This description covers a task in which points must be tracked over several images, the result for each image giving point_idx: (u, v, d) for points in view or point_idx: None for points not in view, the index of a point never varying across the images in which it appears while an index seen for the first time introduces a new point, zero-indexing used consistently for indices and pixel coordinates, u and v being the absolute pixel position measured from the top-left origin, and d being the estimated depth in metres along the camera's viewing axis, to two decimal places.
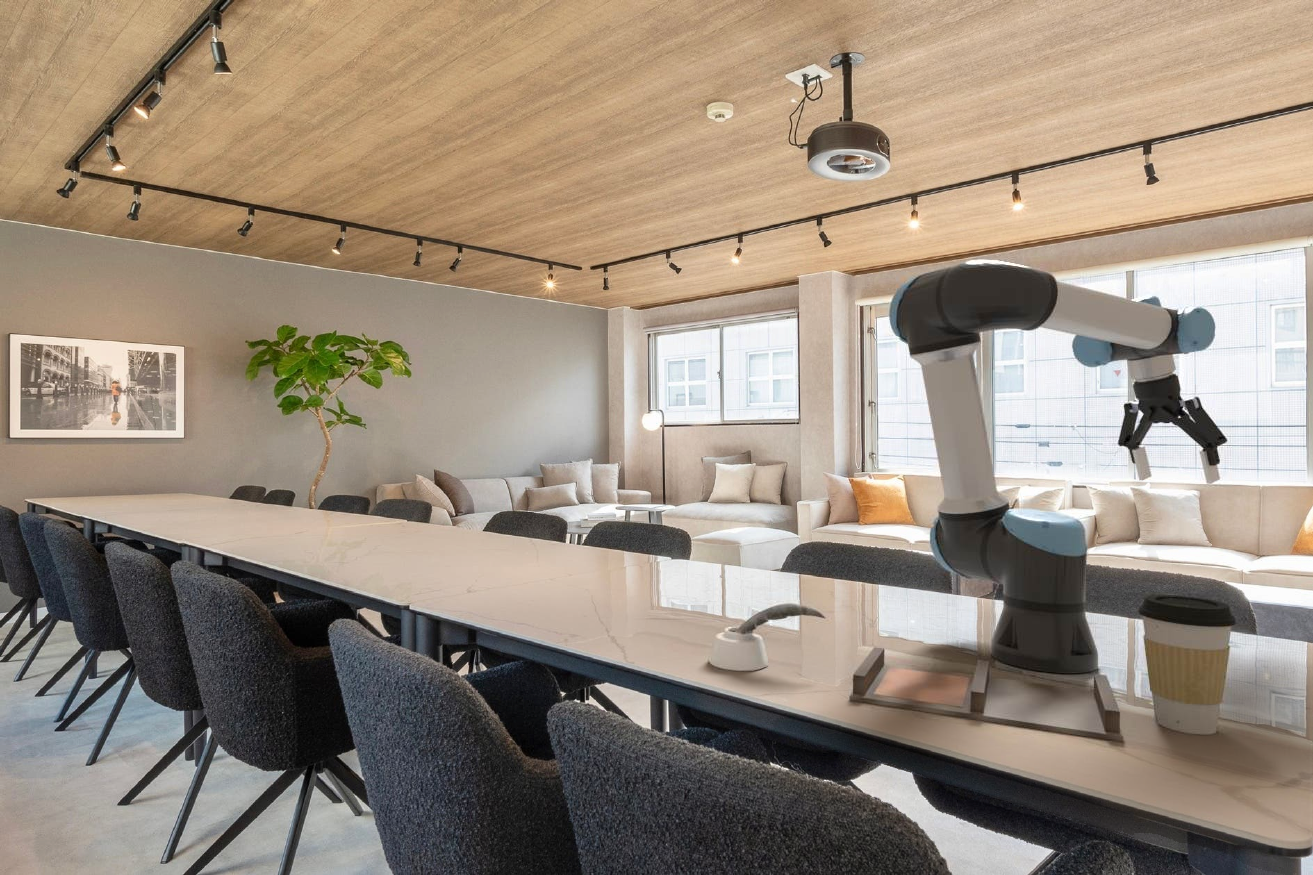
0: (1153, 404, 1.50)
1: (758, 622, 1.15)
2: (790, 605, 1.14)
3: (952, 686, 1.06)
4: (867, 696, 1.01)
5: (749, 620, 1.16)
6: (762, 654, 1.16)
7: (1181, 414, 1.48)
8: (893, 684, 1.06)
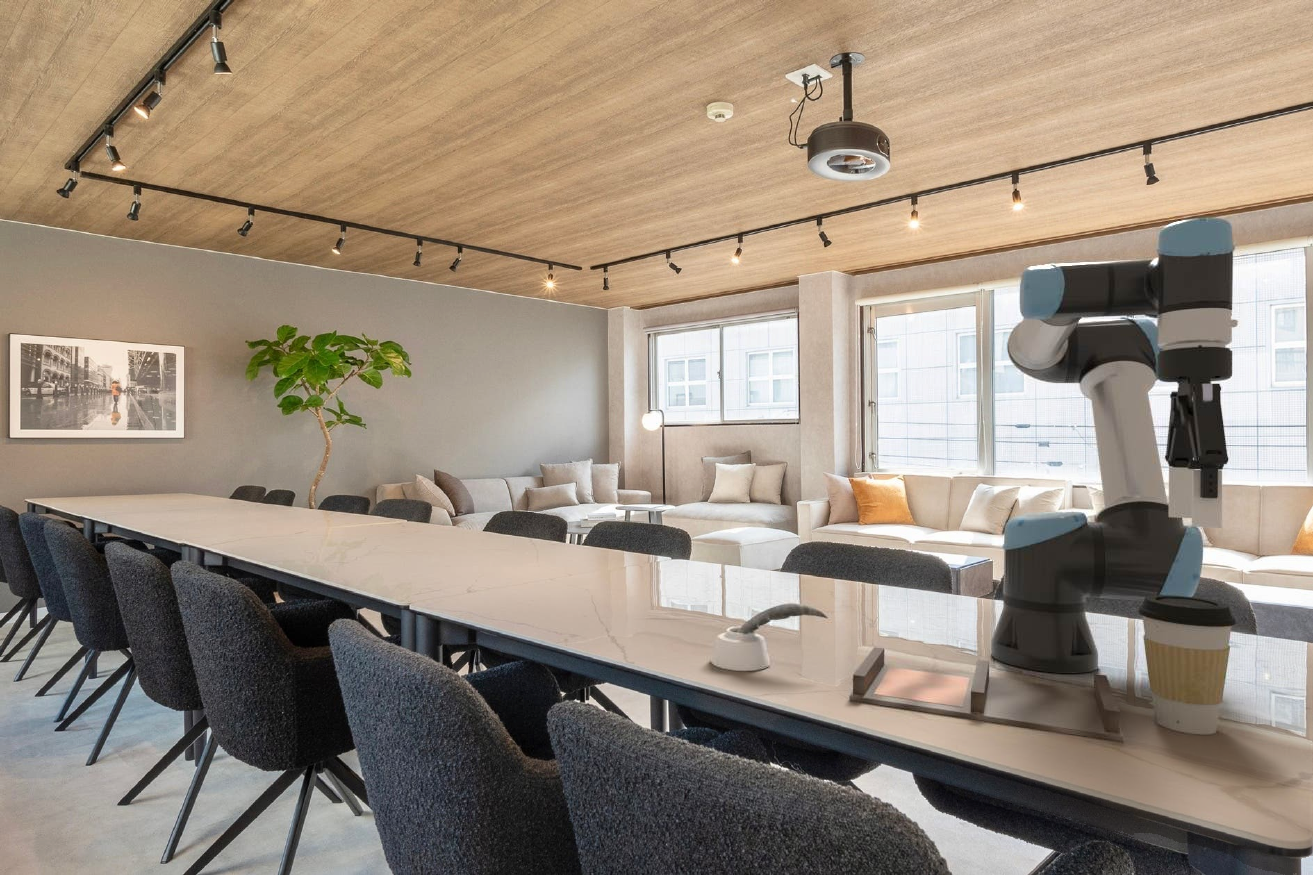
0: (1182, 392, 0.95)
1: (760, 622, 1.15)
2: (792, 605, 1.14)
3: (952, 686, 1.06)
4: (867, 696, 1.01)
5: (751, 620, 1.16)
6: (764, 654, 1.16)
7: None
8: (893, 684, 1.06)
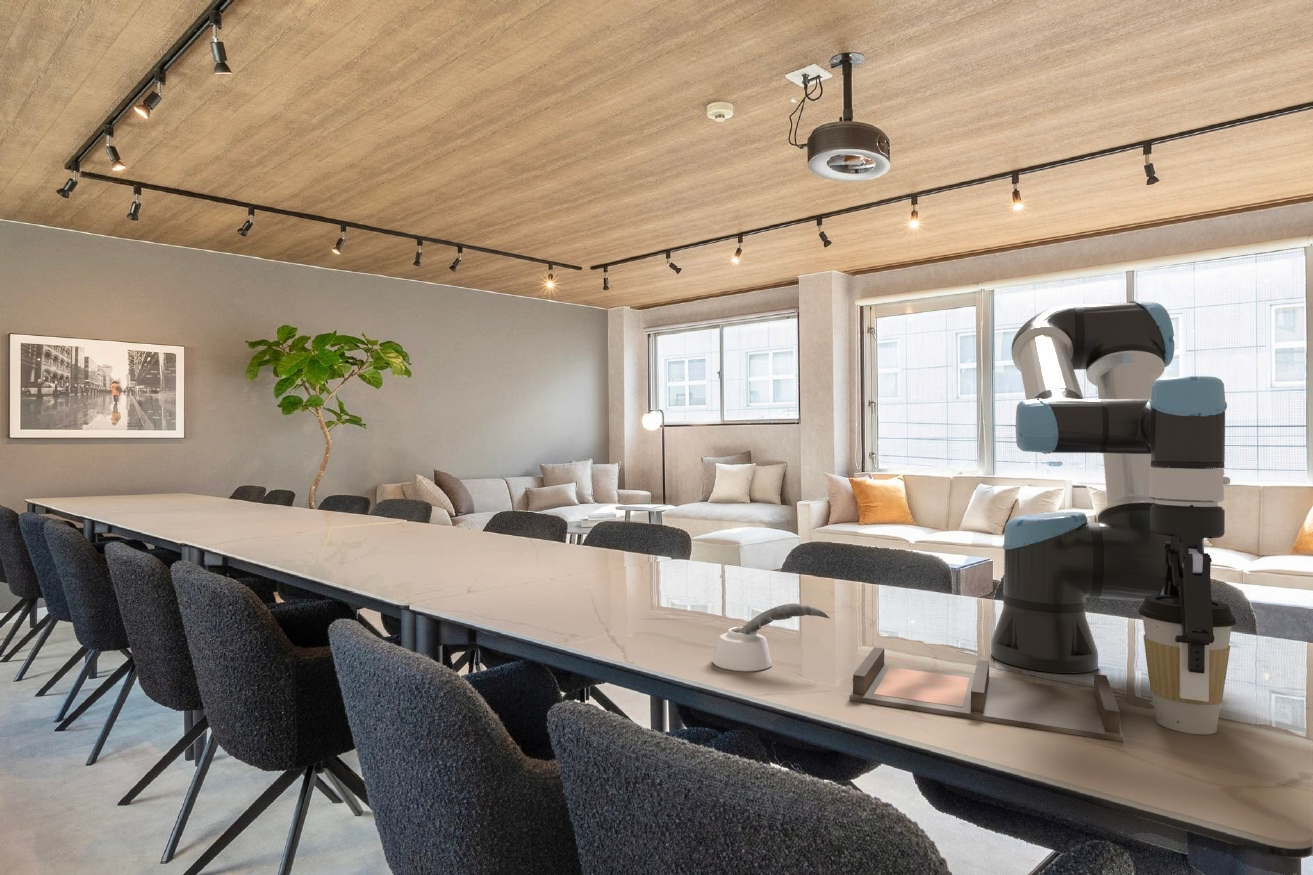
0: (1174, 541, 0.95)
1: (762, 622, 1.15)
2: (794, 605, 1.14)
3: (952, 686, 1.06)
4: (867, 696, 1.01)
5: (753, 620, 1.16)
6: (765, 654, 1.16)
7: None
8: (893, 684, 1.06)
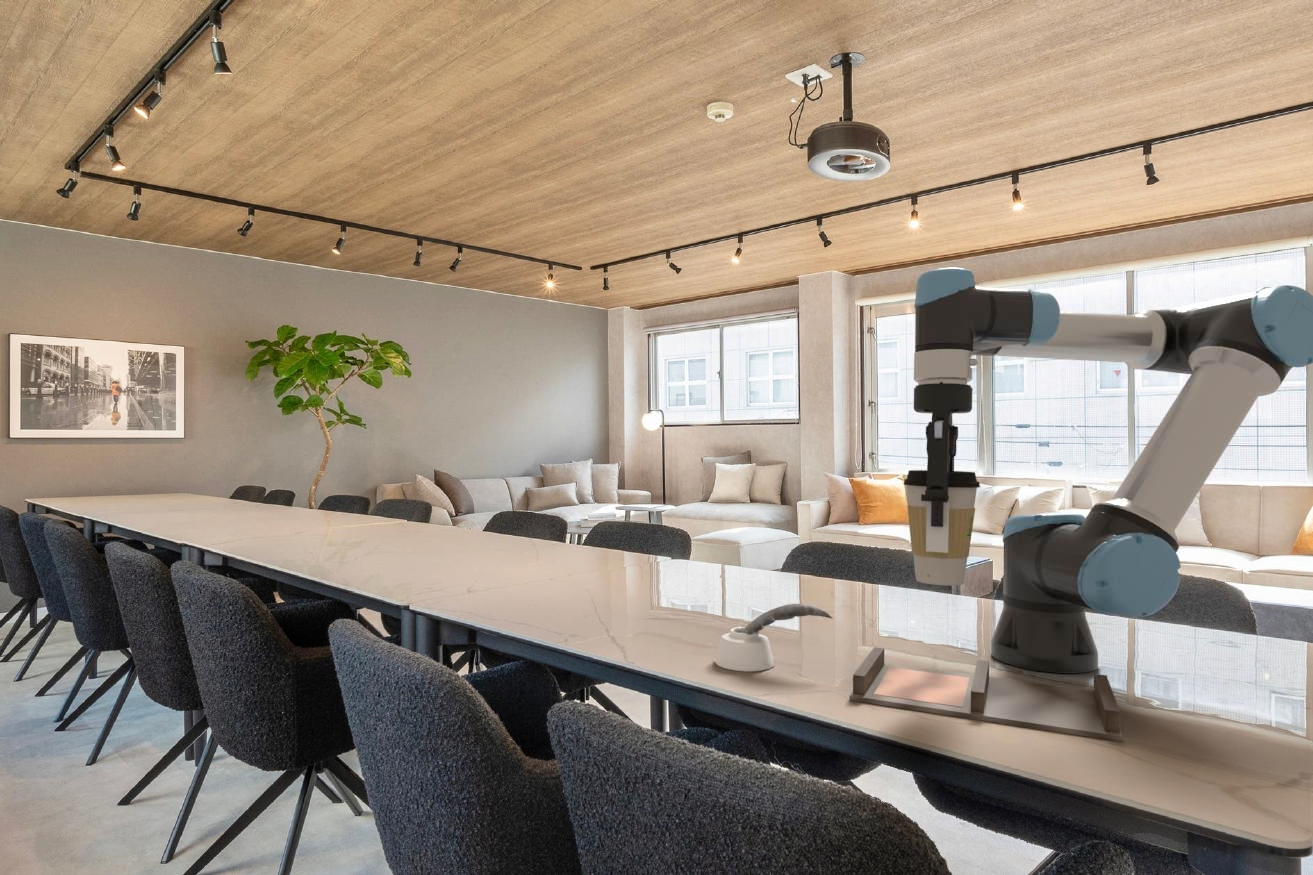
0: None
1: (764, 622, 1.15)
2: (797, 605, 1.14)
3: (952, 686, 1.06)
4: (867, 696, 1.01)
5: (755, 620, 1.16)
6: (768, 654, 1.16)
7: (950, 446, 1.03)
8: (893, 684, 1.06)
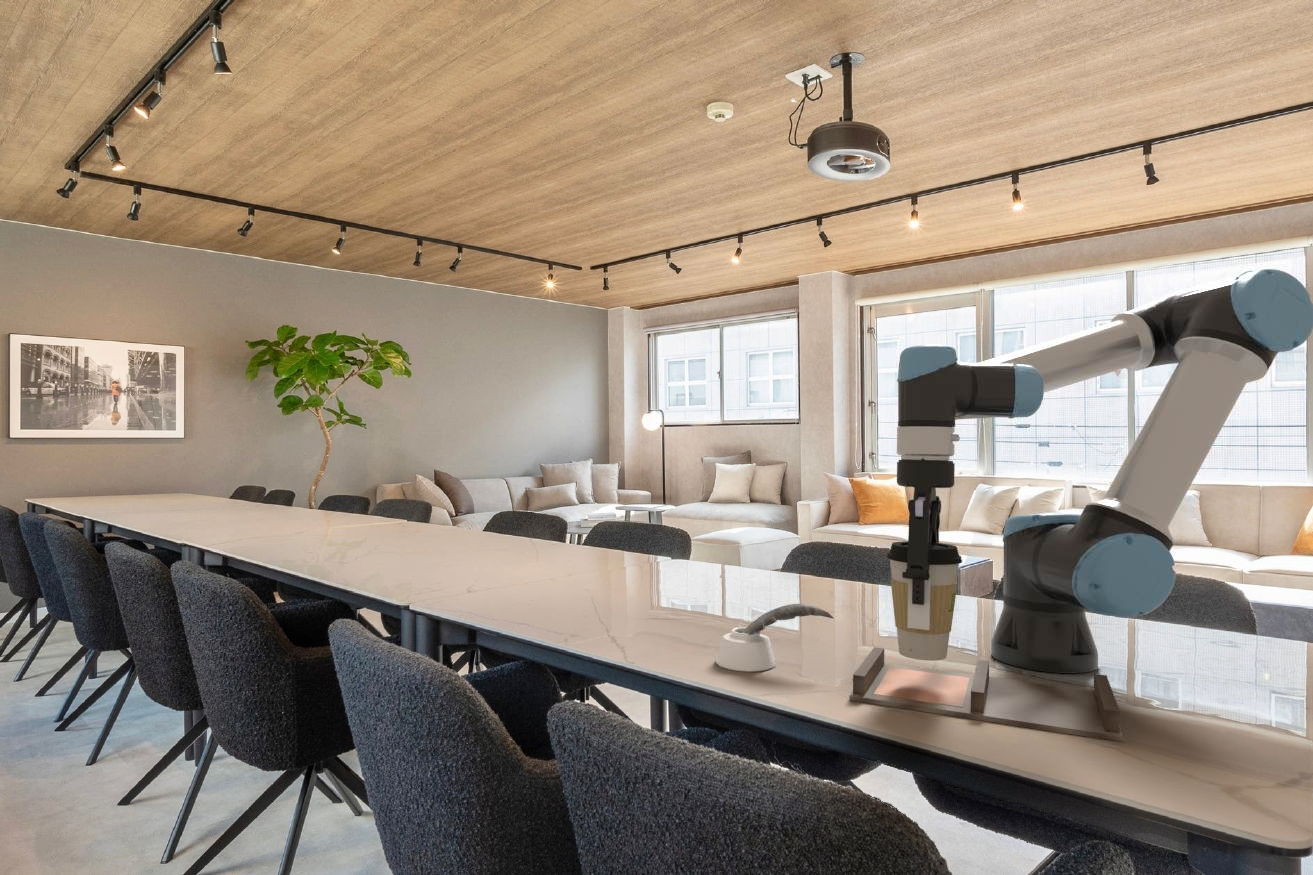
0: None
1: (766, 622, 1.14)
2: (798, 605, 1.14)
3: (952, 686, 1.06)
4: (867, 696, 1.01)
5: (757, 620, 1.16)
6: (769, 654, 1.16)
7: (932, 522, 1.04)
8: (893, 684, 1.06)
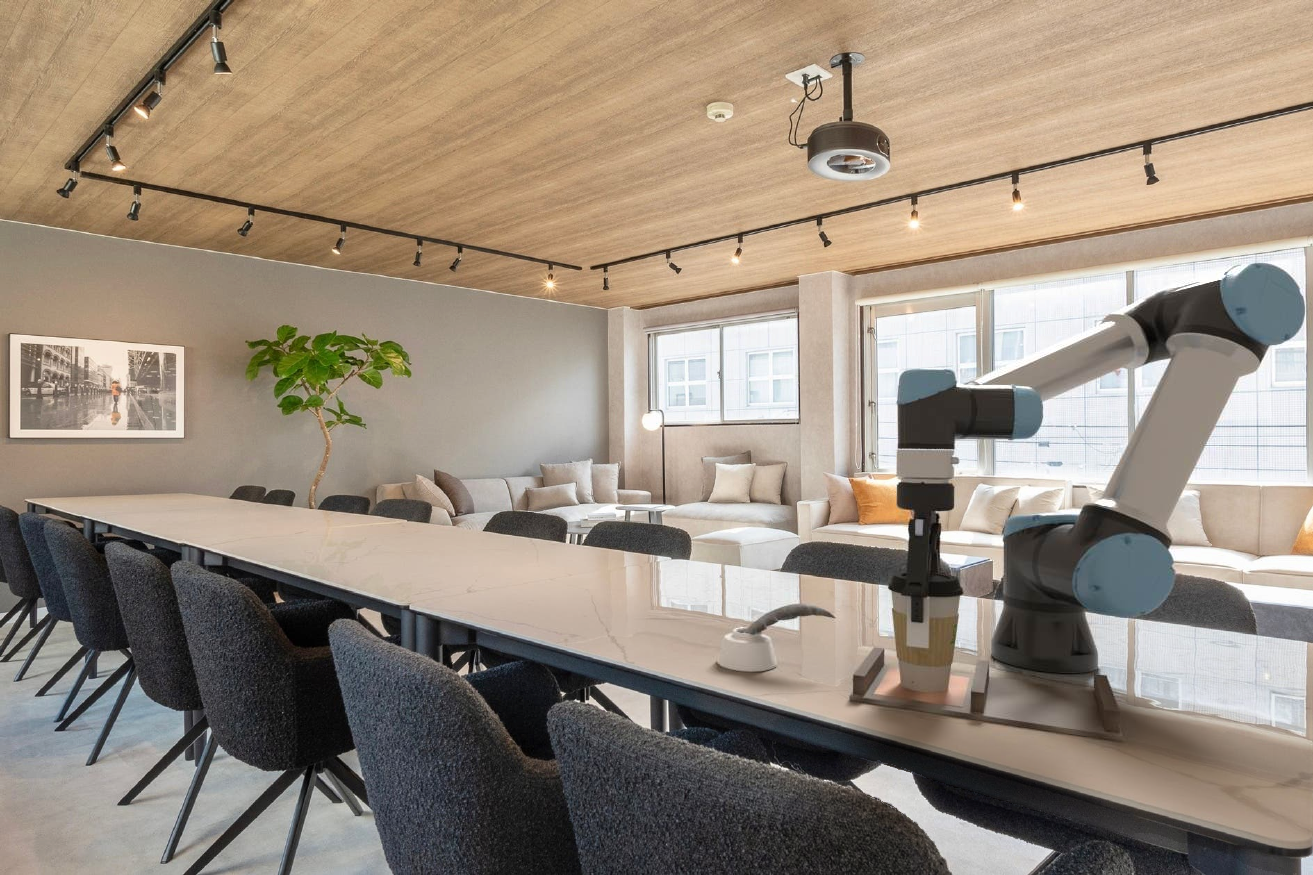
0: None
1: (767, 622, 1.14)
2: (800, 605, 1.14)
3: (952, 686, 1.06)
4: (867, 696, 1.01)
5: (758, 621, 1.16)
6: (771, 654, 1.16)
7: None
8: (893, 684, 1.06)
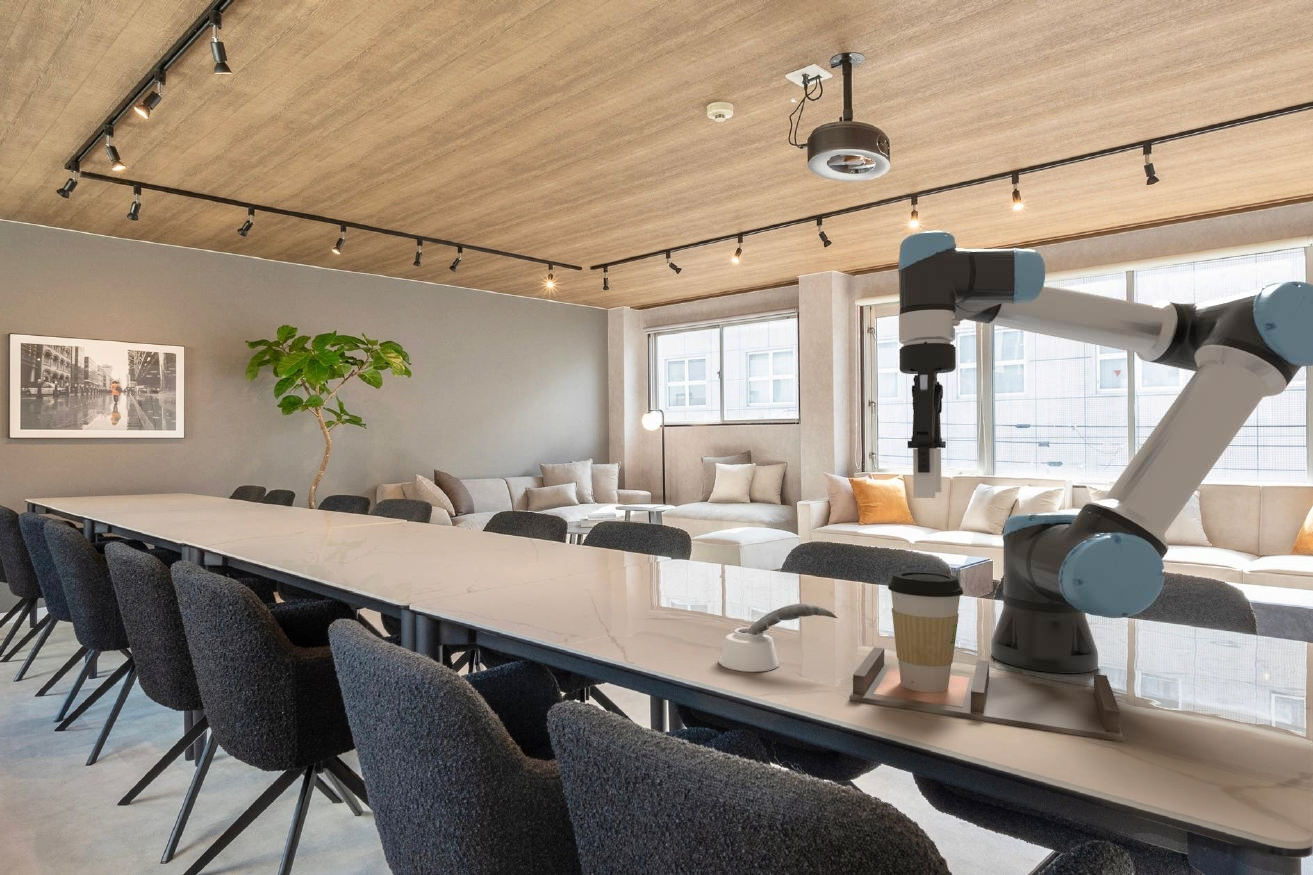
0: None
1: (769, 622, 1.14)
2: (802, 605, 1.14)
3: (952, 686, 1.06)
4: (867, 696, 1.01)
5: (760, 621, 1.16)
6: (773, 654, 1.16)
7: None
8: (893, 684, 1.06)
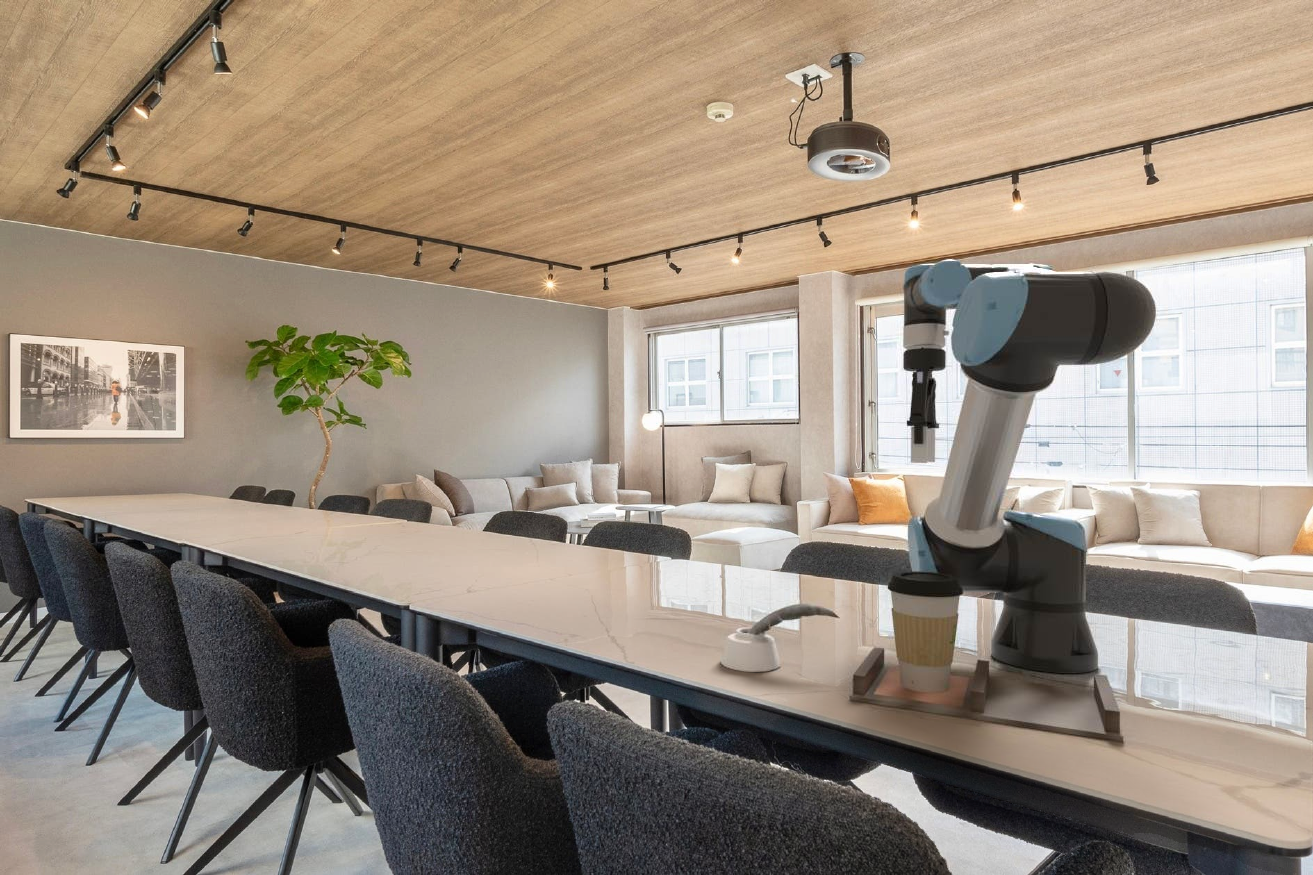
0: None
1: (771, 622, 1.14)
2: (803, 605, 1.14)
3: (952, 686, 1.06)
4: (867, 696, 1.01)
5: (762, 621, 1.16)
6: (775, 654, 1.16)
7: None
8: (893, 684, 1.06)
